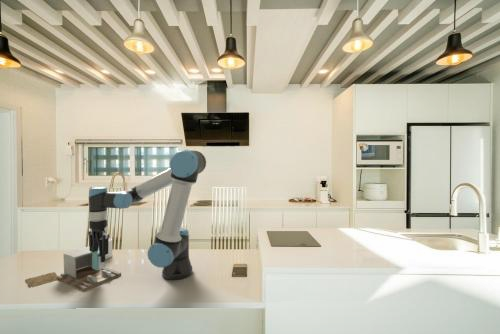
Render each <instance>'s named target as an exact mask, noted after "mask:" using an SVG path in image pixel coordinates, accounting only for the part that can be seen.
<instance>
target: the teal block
mask: <svg viewBox="0 0 500 334" xmlns="http://www.w3.org/2000/svg"><path fill="white" fill-rule="evenodd" d="M98 255H100V254H99V250H98V251H94V252H92V269H95V270H99V259H98Z"/></svg>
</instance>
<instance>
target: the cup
mask: <svg viewBox="0 0 500 334" xmlns="http://www.w3.org/2000/svg"><path fill="white" fill-rule="evenodd" d="M99 240H100V239H99ZM98 249H99V246H98ZM112 256H113V238H110V237H109V239H108V254H106V255H105V260H108V259H110V258H111V257H112Z"/></svg>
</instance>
